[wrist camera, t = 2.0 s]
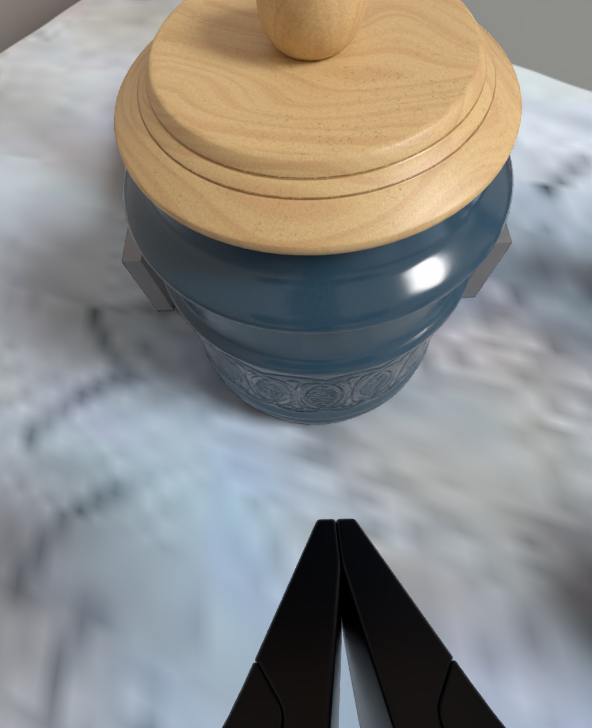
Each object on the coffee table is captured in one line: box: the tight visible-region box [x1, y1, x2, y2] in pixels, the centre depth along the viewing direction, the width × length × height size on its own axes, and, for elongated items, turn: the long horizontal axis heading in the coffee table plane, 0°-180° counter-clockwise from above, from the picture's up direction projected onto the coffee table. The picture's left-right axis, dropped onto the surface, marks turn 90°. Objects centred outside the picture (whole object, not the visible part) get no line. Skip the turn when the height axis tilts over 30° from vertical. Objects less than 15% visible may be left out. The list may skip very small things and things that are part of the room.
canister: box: [114, 0, 522, 424], centre depth 16 cm, size 13×13×18 cm
